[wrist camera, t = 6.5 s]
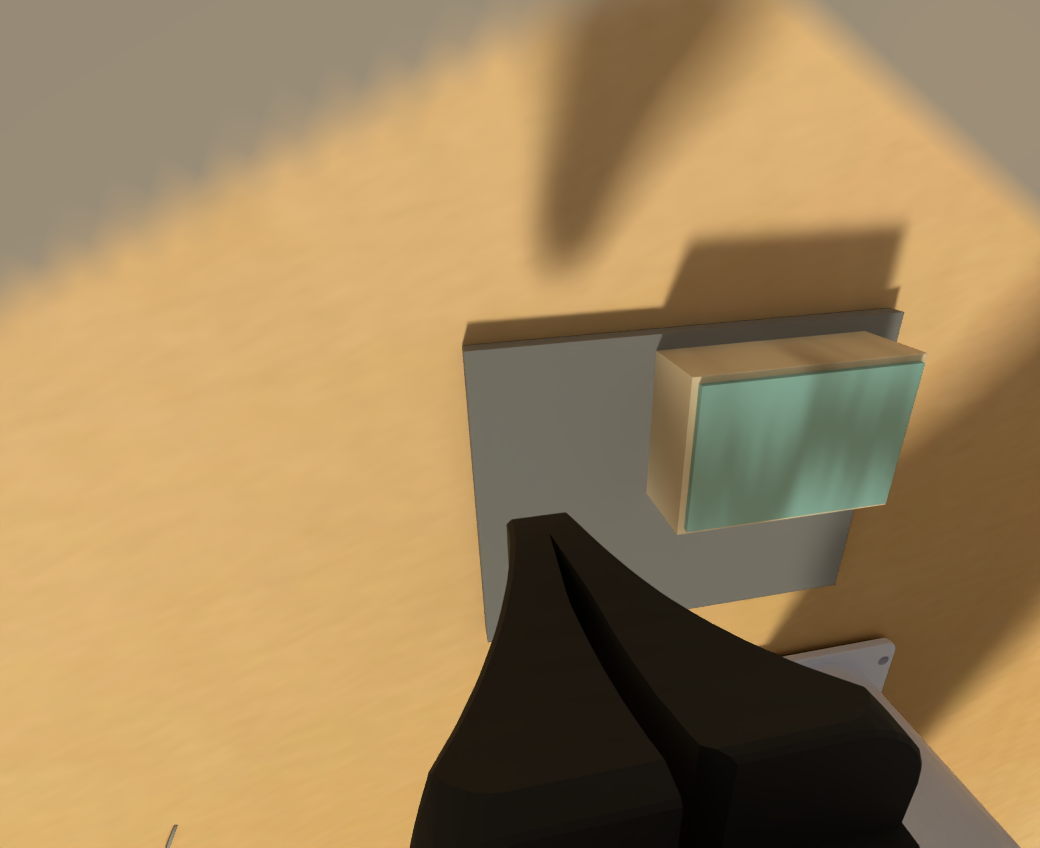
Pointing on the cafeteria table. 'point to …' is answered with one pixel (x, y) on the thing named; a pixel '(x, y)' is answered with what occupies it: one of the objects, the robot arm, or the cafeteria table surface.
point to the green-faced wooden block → (778, 428)
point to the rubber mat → (628, 461)
